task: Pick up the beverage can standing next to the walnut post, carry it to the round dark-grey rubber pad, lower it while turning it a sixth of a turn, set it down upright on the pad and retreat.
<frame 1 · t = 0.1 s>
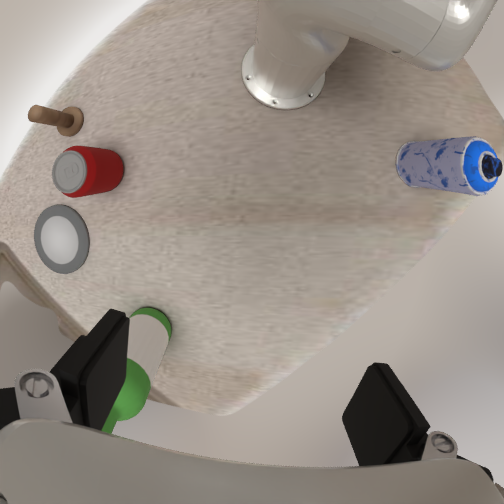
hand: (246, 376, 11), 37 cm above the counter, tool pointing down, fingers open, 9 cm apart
aerosol can: (414, 164, 45), on the counter
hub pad: (61, 239, 46), on the counter
beverage can: (106, 170, 43), on the counter
stand post: (71, 121, 41), on the counter
wine bottle: (151, 325, 50), on the counter
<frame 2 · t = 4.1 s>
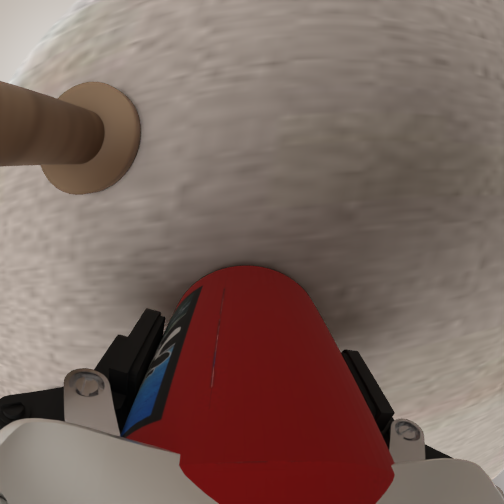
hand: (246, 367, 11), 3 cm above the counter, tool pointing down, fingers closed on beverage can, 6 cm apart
beverage can: (245, 325, 15), on the counter, touching gripper
stand post: (90, 138, 12), on the counter
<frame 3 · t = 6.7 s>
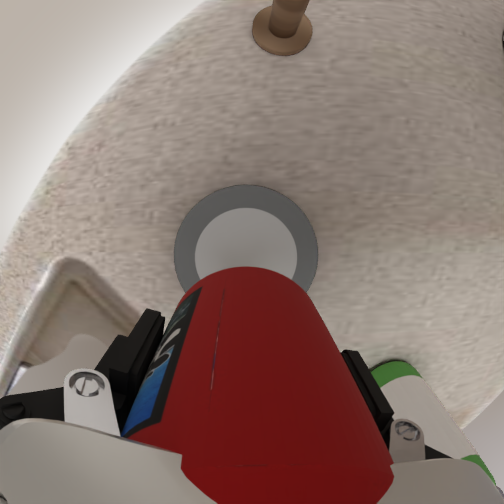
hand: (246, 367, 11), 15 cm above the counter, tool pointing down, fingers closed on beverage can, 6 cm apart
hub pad: (245, 256, 26), on the counter
beverage can: (245, 326, 14), point 12 cm above the counter, touching gripper
stand post: (281, 31, 21), on the counter
wine bottle: (383, 383, 31), on the counter
when the fingers open (5 cm above the counter, at t = 9.3 s): beverage can stays where it is, resting on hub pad.
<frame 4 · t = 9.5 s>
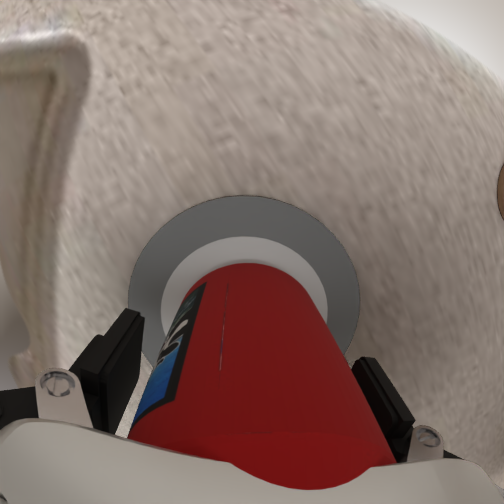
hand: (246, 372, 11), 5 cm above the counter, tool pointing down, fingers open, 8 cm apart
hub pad: (244, 312, 16), on the counter
beverage can: (246, 320, 15), point 1 cm above the counter, touching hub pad
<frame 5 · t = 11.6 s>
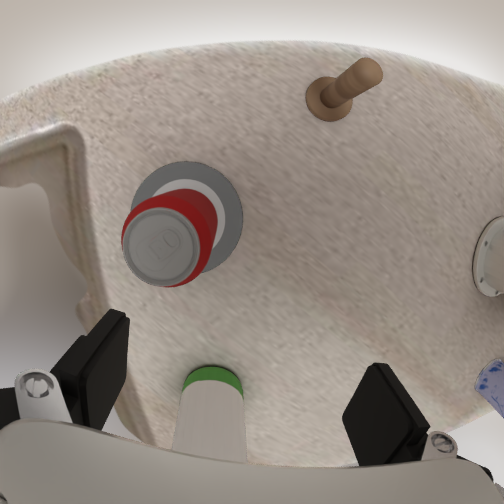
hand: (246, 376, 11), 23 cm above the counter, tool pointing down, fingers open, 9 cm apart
aerosol can: (488, 374, 43), on the counter
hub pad: (185, 218, 32), on the counter
beverage can: (186, 220, 31), point 1 cm above the counter, touching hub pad
stand post: (327, 99, 30), on the counter
wine bottle: (213, 385, 38), on the counter
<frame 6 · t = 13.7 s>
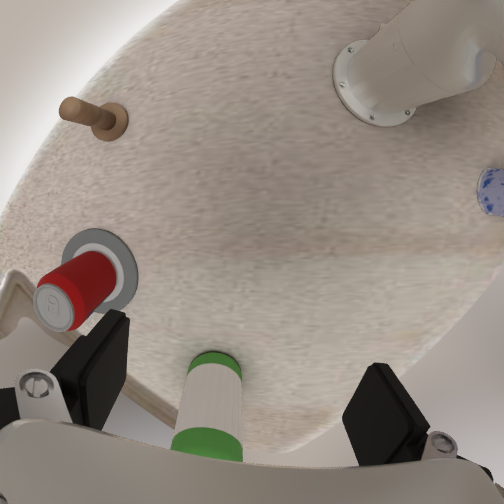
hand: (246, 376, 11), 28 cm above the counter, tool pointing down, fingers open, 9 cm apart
aerosol can: (490, 190, 38), on the counter
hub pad: (98, 271, 39), on the counter
beverage can: (97, 272, 38), point 1 cm above the counter, touching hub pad
stand post: (110, 122, 34), on the counter
wine bottle: (215, 369, 43), on the counter
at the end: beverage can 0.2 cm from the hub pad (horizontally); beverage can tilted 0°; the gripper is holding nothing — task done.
